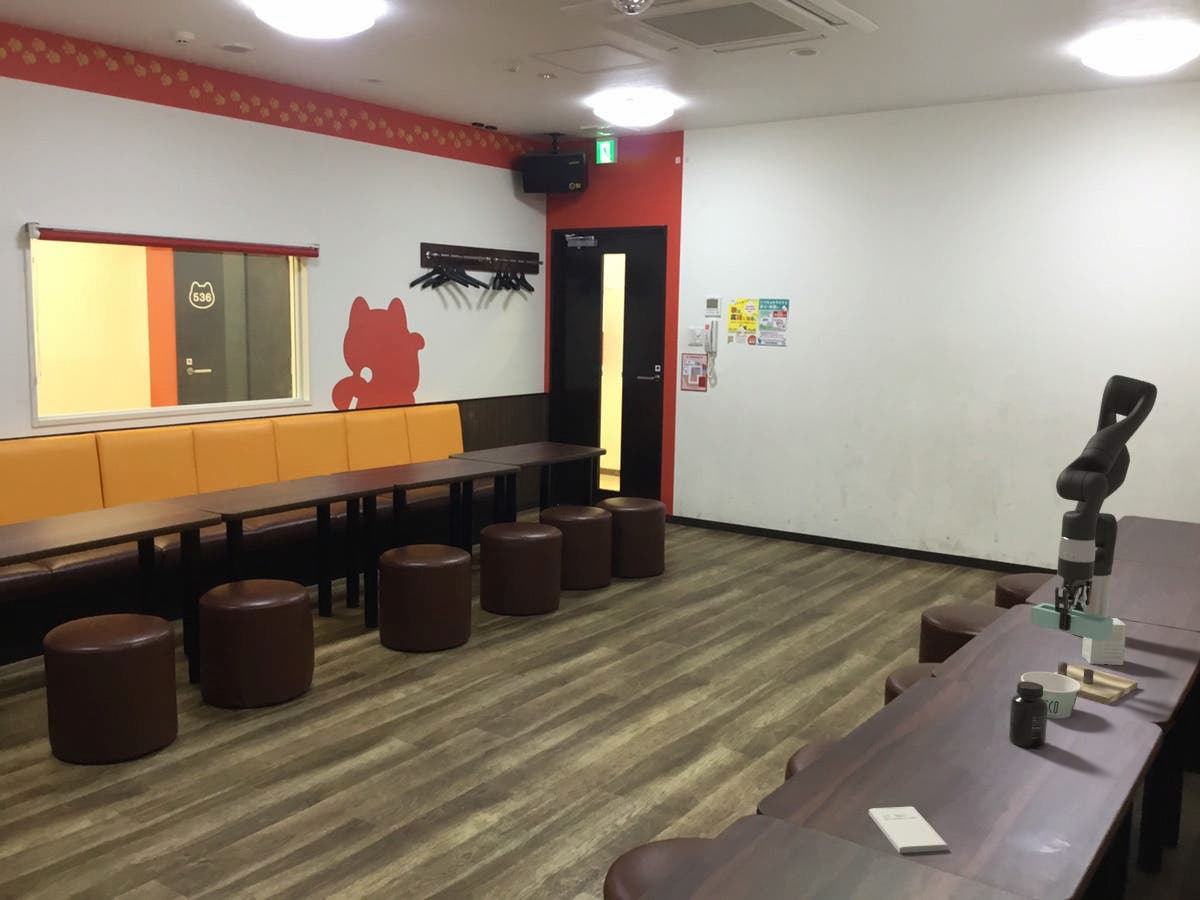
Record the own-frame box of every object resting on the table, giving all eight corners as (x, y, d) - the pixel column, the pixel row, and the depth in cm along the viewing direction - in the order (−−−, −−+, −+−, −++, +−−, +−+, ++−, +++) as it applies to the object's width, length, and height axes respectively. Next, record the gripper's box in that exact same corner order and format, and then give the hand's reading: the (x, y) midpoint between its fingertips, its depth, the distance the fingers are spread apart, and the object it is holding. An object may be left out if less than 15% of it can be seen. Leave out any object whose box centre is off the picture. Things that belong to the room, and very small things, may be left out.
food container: (1078, 705, 218) (1081, 676, 217) (1079, 725, 207) (1082, 695, 206) (1019, 695, 222) (1021, 667, 222) (1017, 714, 212) (1019, 685, 211)
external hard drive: (899, 856, 157) (868, 816, 169) (947, 853, 158) (913, 814, 170) (899, 847, 156) (868, 807, 169) (948, 844, 158) (914, 805, 170)
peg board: (1072, 669, 239) (1073, 651, 239) (1137, 687, 228) (1139, 669, 227) (1040, 684, 229) (1042, 666, 228) (1107, 704, 218) (1109, 685, 217)
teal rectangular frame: (1111, 635, 225) (1113, 618, 224) (1100, 641, 221) (1101, 623, 220) (1042, 618, 237) (1043, 602, 236) (1030, 623, 233) (1031, 607, 232)
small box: (1114, 658, 248) (1117, 617, 246) (1123, 665, 242) (1127, 624, 241) (1080, 656, 249) (1084, 616, 247) (1089, 664, 243) (1093, 623, 242)
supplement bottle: (1043, 738, 200) (1048, 681, 198) (1046, 752, 194) (1051, 693, 192) (1007, 733, 202) (1011, 677, 201) (1009, 746, 196) (1013, 689, 194)
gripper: (1079, 564, 219) (1073, 637, 221) (1106, 555, 228) (1100, 625, 230) (1045, 558, 225) (1040, 629, 227) (1074, 549, 234) (1068, 617, 236)
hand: (1070, 626), depth 229 cm, fingers closed on teal rectangular frame, 6 cm apart
